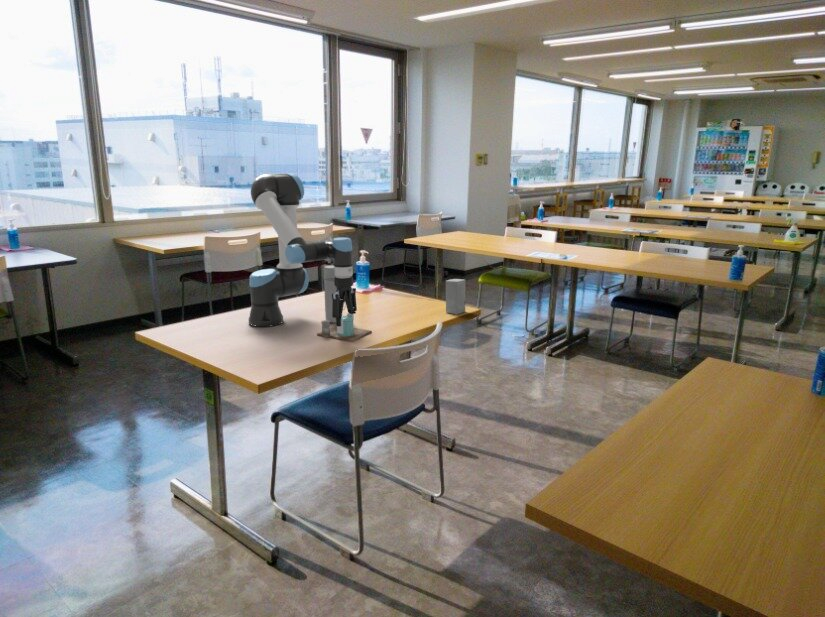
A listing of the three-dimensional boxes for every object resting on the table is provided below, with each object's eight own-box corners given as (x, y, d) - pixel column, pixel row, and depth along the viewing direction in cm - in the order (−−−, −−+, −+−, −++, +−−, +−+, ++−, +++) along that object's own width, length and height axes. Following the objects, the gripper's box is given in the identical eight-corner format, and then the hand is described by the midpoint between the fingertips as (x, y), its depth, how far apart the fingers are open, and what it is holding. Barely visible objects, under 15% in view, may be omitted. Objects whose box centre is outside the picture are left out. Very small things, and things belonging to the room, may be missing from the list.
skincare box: (456, 315, 261) (457, 282, 257) (444, 312, 265) (444, 280, 261) (466, 311, 268) (467, 279, 264) (453, 309, 272) (454, 277, 268)
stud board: (316, 335, 231) (315, 320, 229) (337, 326, 243) (336, 312, 242) (351, 342, 222) (351, 326, 221) (371, 332, 235) (371, 318, 233)
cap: (334, 335, 229) (334, 318, 227) (344, 330, 234) (343, 314, 233) (347, 337, 226) (347, 320, 224) (356, 333, 231) (356, 316, 230)
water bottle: (326, 324, 247) (324, 268, 241) (324, 319, 255) (322, 265, 248) (347, 322, 250) (345, 267, 243) (344, 317, 257) (342, 264, 250)
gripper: (336, 281, 214) (338, 338, 220) (364, 273, 230) (366, 326, 236) (321, 279, 218) (323, 335, 224) (349, 271, 234) (351, 324, 240)
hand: (345, 330), depth 230 cm, fingers closed on cap, 6 cm apart
